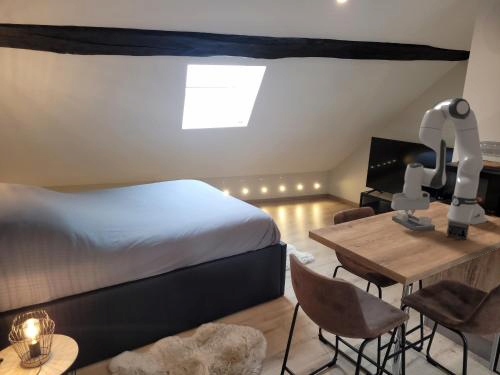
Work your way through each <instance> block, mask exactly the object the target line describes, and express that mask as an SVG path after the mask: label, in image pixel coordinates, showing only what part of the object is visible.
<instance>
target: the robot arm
mask: <svg viewBox="0 0 500 375" xmlns="http://www.w3.org/2000/svg"><path fill="white" fill-rule="evenodd" d="M423 115H424V116H423V118H422V120H421V123H420V128H419V132H418V139H419V141H420V142H421V143H422V144H423V145H424V146H426V147H428V148H430V149H432V150H433V151H434V152H435V153H436V160H435V161H436V162H435V163H436V164H435V168H427V167H424V165H423V164H422V163H420V162H410V163H408V164H407V167H406V170H405V174H404V184H403V189H402V192H395V193H394V194H393V195H392V197H391V198H392V200H391V205H390V208H391V209H392V210H394V211H405V213H406V217H412V215H413V216H414V213H415V212H416V211H425V210H426V211H427V210H429V209H430V204H431V201H430V196H431V195H430V193H429V192H427V191H425V190H422V186H424V187H429V188H432V189H436V190H438V189H441V188H442V187H444V186H445V185H446V181H447V170H446V167H447V142H446V140H444V139H443V136H442V135H443V134H442V132H443V128H444V123H445V122H446V121H452V122H453V125H454V126H453V128H454V135H455V140H456V141H455V142H456V148H457V154H458V166H457V172H456V173H457V174H456V181H455V187H454V192H453V194H452V196H451V197H452V198H451V204H450V207H449V210H448V212H447V214H446V218H447V219H449V220H455V221H461V222H466V223H469V224H470V225H474V226H475V225H479V224H483V223H487V222H486V221H488V222H490V219H489V218H488V217H486V216H485V215H486V212H485V209H484V208H483V207H482V206H481V205H480V204H479V203H478V202H482V198H481V197H477V194H478V189H479V188H478V187H479V184H480V183H479V182H480V173H481V171H482V170H483V167H484V158H483V152H482V147H481V141H480V134H479V133H480V132H479V127H478V125H479V124H478V121H477V116H476V115H475V112H474V111H473V109H471V105H470V103H469V102H468V100H467V99H464V98H462V97H461V98H459V97H456V98H451V99H446V100H444V101H443V100H442V101H439V102H437V103H436V104H434V105H433V106H432V107H431V109H428V110H426V111H425V113H424V114H423ZM409 211H410V212H409Z"/></svg>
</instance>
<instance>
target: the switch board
mask: <svg viewBox="0 0 500 375" xmlns="http://www.w3.org/2000/svg"><path fill="white" fill-rule="evenodd" d="M391 220H392V221H393V222H395V223H397V224H399V225H400V226H403V227H404V228H406V229H409V230H410V231H413V232H414V233H417V232H426V231H435V228H436V225H435V224H432V223H431V225H428V226H424V225H422V224H420V223H419V217H417V216H416V215H414V214H413V215H412V217H408V221H407V222H405V221H403V220H401V219H399V218H397V214H396V215H392V216H391Z"/></svg>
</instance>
